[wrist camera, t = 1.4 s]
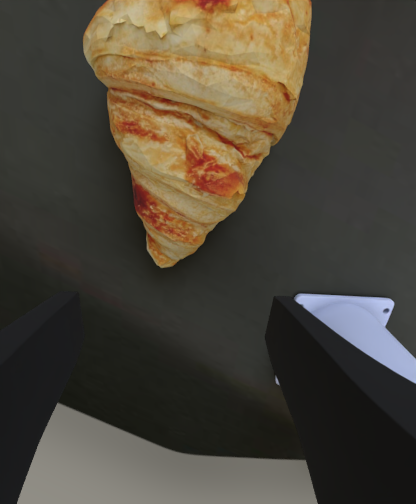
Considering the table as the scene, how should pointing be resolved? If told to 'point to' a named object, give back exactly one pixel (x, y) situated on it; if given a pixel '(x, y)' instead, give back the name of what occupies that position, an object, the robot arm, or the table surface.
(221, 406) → the table surface
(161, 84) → the croissant
